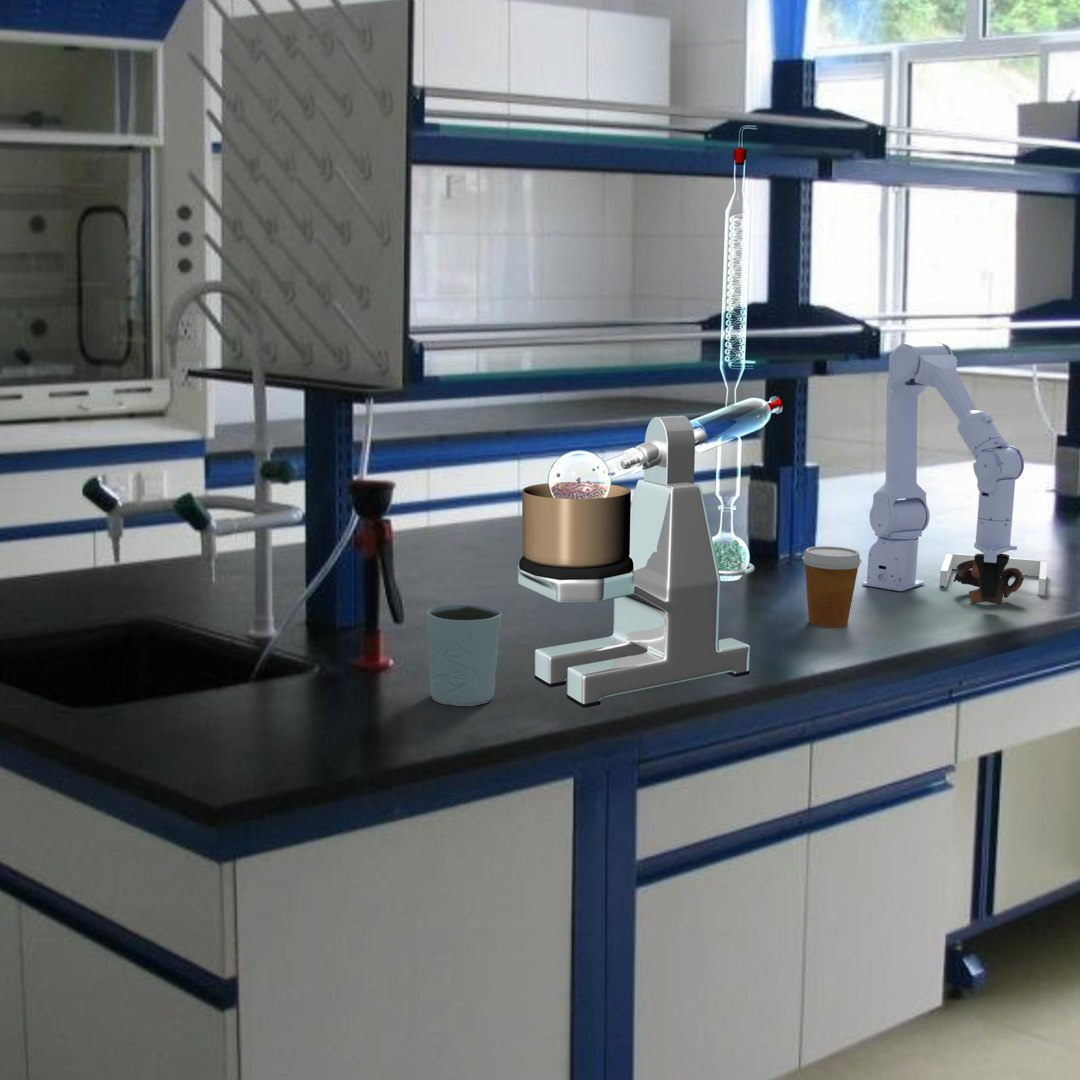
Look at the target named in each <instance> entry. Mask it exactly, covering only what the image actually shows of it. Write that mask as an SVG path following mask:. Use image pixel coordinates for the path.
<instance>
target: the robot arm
mask: <svg viewBox="0 0 1080 1080" xmlns="http://www.w3.org/2000/svg"><path fill="white" fill-rule="evenodd" d="M957 367H958V359H957V357H956V356H955V355H954V353H953V350H952V349H951V347H950V346H949V345H948V344H947V343H945V342H937V343H905V342H904V343H901V344H899V345H898V346H896V348H894V350H893V351H892V352H891V353H890V354H889V355H888V378H887V379H888V380H887V381H886V412H885V413H886V422H885V423H886V424H885V425H886V429H885V431H886V434H885V438H886V439H885V481H884V484H882V486H880V487H879V488H877V490H876V491H875V492H874V493H873V499H872V505H871V509H870V511H869V517H868V518H869V524H870V526H871V529H872V530H873V532H874V536H876V537H877V540H876V542H875V543H874V544H872V546H870V549H869V550H868V557H867V570H866V571H867V572H866V573H867V574H866V581H863V582H861V585H862V586H866V587H867V586H868V587H874V588H879V589H885V590H891V591H896V592H903V591H906V590H909V589H912V588H915V587H919V586H922V585H924V584H925V581H924V580H921V579H920V580H919V579H917V565H918V551H919V537H922V534H923V531H925V530H926V529H927V528H928V525H929V522H930V518H931V517H930V510H929V507H928V503H927V492H925V490H924V489H923V488H922V487H921V486H920V485H919V484H918V483H917V476H918V475H917V473H918V472H917V469H918V468H917V467H918V463H917V462H918V408H919V407H918V403H919V402H918V401H919V399H918V398H919V395H920V394H921V393H922V392H923V391H924V390H925V389H926V388H928V387H932V388H934V389H936V391H937V392H938V393H939V394H940V396H941V398H942V399H943V400H944V401H945V403H946V404H947V405H948V407H949V408H950V410H951V411H952V412H953V414H954V415H955V417H956V418H957V419H958V425H957V432H958V434H959V436H960V437H961V439H962V440H963V442H964V443H965V445H966V447H967V449H968V450H969V452H970V453H971V455H972V457H973V459H974V460H975V462H973V464H972V466H973V472H974V475H975V478H976V479H977V485H976V487H977V488H978V489H977V490H978V491H979V494H978V506H977V517H976V518H977V521H976V533H975V541H974V543H973V544H974V545H973V547H974V549H976V550H977V551H979V552H980V553H975V554H974V555H975V556H974V559H975V562H976V564H977V567H978V570H979V574H980V582H981V592H982V596H983V597H989V598H995V596H996V593H997V590H998V585H999V581H1000V578H1001V574H1002V572H1003V570H1004V568H1005V566H1006V565H1007V563H1008V561H1009V557H1010V555H1009V554H1005V553H1007V552H1009V551H1017V550H1018V544H1014V543H1011V541H1012V540H1011V536H1012V526H1013V513H1014V502H1015V491H1016V490H1015V487H1016V480H1018V479H1019V478H1021V476H1022V475H1023V472H1024V468H1025V460H1024V457H1023V454H1022V452H1021V450H1020V449H1019V448H1018V447H1016V446H1013V445H1010V443H1009V442H1007V441H1006V440H1005V439H1004V438H1003V437H1002V435H1001V433H1000V432H999V430H998V428H997V426H996V425H995V423H994V422H993V421H994V418H993V417H992V416H991V414H988V413H987V411H981V410H979V409H977V407H976V405H975V403H974V401H973V399H972V397H971V396H970V393H969V392H968V390H967V387H966V386H965V384H964V382H963V380H962V378H961V376H960V375H959V371H958V370H957Z"/></svg>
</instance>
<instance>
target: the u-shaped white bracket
mask: <svg viewBox="0 0 1080 1080" xmlns="http://www.w3.org/2000/svg"><path fill="white" fill-rule="evenodd" d="M974 556H975V554H970V553H958V552H946V555H945V558H944V560H943V562H942V565H941V569H940V574H939V575H940V576H939V586H946V587H947V586H948V583H949V581H950V577H951V575H952V572H953V570H952V569H957V566H958V565H959V564H961V563H963V562H966V561H970V560H975V559H974ZM1007 568H1017V569H1018V570H1020V571H1021V573H1022V576H1025V575H1028V576H1027V577H1038V588H1037V589H1038V590H1037V596H1046V586H1047V585H1046V584H1047V571H1048V570H1047V569H1048V560H1047V559H1034V558H1024V557H1023V558H1022V557H1010V556H1009V561H1008V563H1007V565H1006V566H1005V568H1004V569H1007ZM969 570H972V568H971V569H969ZM949 576H950V577H949Z"/></svg>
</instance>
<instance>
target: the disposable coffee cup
mask: <svg viewBox="0 0 1080 1080" xmlns="http://www.w3.org/2000/svg"><path fill="white" fill-rule="evenodd" d="M801 559H802V561H803V564H804V569H805V586H806V598H807V599H806V600H807V611H808V613H807V614H808V615H807V616H808V623H809V624H810V623H811V624H810V625H812V626H816V625H817V626H816V627H820V626H822V628H833V627H835V628H842V626H843V627H847V625H848V623H849V619H850V618H849V617H850V613H851V608H852V603H853V597H854V590H855V585H856V581H857V576H858V575H857V574H858V570H859V567H860V566H861V563H862V562H863V561H862V559H861V558H860V553H859V551H858V550H856V549H852V548H848V547H843V546H842V547H840V546H829V545H828V546H826V545H825V546H821V545H819V546H810V547H807V548H805V552H804V555H802V558H801Z"/></svg>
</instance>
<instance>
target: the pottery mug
mask: <svg viewBox="0 0 1080 1080" xmlns="http://www.w3.org/2000/svg"><path fill="white" fill-rule="evenodd" d="M971 568H972V570H969V569H971ZM956 571H957V572H956V573H955V576H954V578H953V581H952V582H953V583H955V582H958V583H960V584H962V585H970V586H973V587H977V589H973V590H969V591H968V596H969V601H970V603H971V602H972V603H971V604H979V603H992V604H993V603H996V604H999V603H1001V604H1002V603H1003V598H1005V599H1008V598H1009V596H1010V595H1011V594H1012V593H1015V592H1017V591H1018V590H1019V589H1020V587H1021V586H1022V584H1023V582H1024V580H1025V578H1024V577H1023V575H1022V573H1021V571H1020V570H1018V569H1017V568H1007V569H1004V570H1003V572H1002V574H1001V577H1000V581H999V585H998V590H997V593H996V596H995V598H989V597H983V596H982V592H981V582H980V574H979V570H978V567H977V564H976V562H975V560H970V561H966V562H963V563H961V564H959V565H958V566H957V570H956ZM1012 577H1014V580H1013V582H1012V583H1011V584H1010V585H1009V581H1010V579H1011V578H1012Z"/></svg>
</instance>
